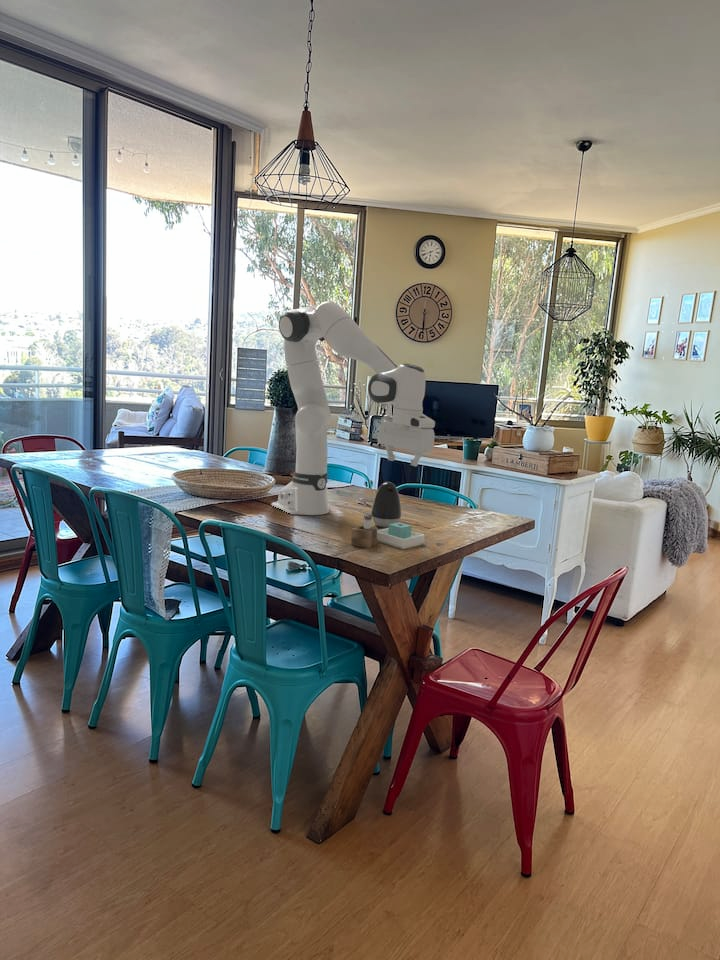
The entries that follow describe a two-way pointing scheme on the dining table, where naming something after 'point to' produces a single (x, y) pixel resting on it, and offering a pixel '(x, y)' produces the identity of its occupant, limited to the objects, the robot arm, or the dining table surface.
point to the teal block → (400, 530)
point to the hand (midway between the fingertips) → (402, 463)
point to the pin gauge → (367, 521)
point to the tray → (400, 539)
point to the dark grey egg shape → (386, 505)
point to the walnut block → (364, 536)
